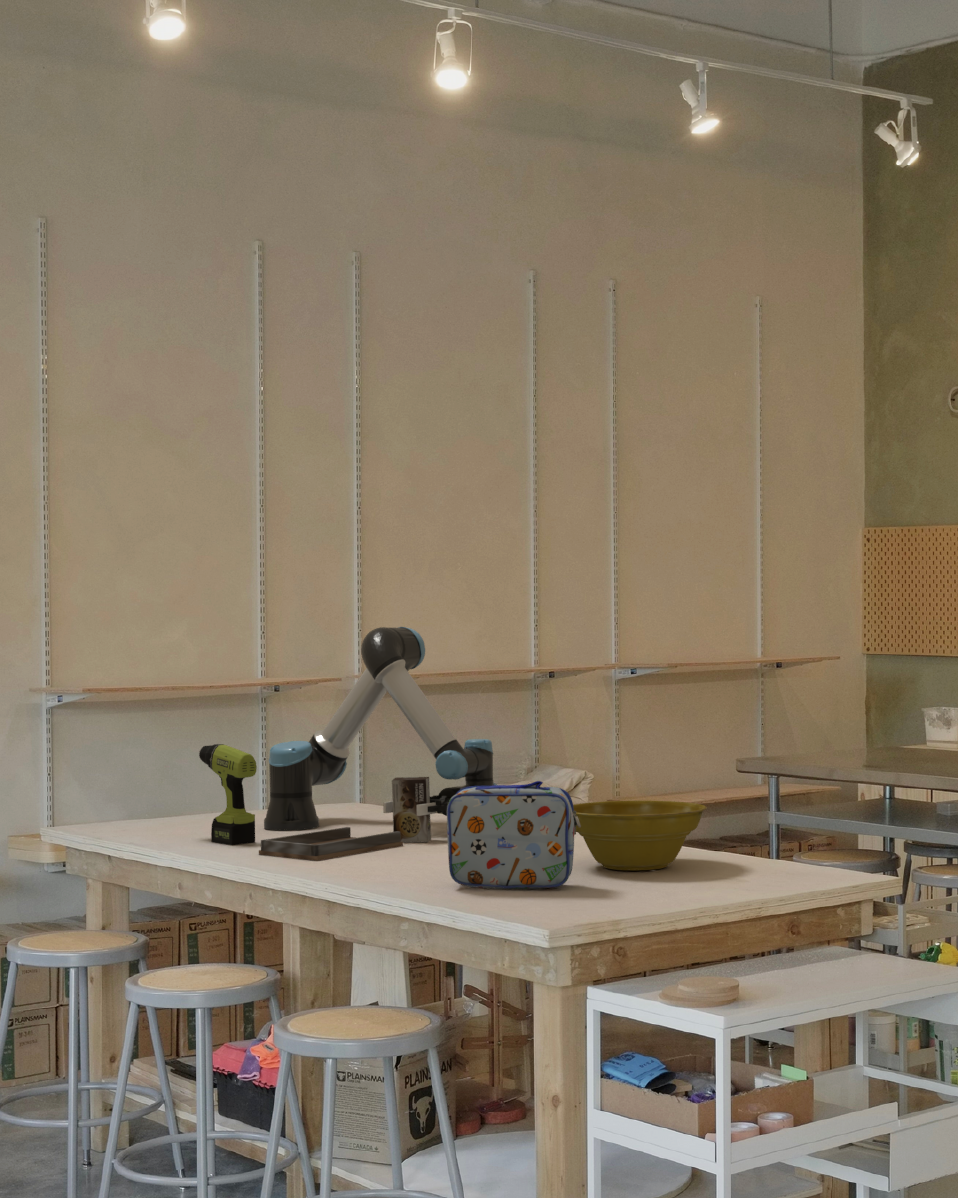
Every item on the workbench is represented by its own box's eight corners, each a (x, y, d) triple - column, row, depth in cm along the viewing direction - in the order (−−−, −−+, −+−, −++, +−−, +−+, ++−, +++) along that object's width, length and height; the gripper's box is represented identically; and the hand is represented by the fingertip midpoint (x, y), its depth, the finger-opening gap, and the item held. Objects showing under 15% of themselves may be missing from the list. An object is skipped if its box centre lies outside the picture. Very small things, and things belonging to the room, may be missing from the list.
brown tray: (258, 854, 369) (258, 840, 370) (344, 840, 393) (344, 826, 393) (317, 860, 357) (317, 845, 357) (403, 845, 380) (402, 831, 380)
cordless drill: (188, 838, 403) (187, 743, 403) (211, 835, 407) (210, 742, 408) (237, 846, 386) (236, 747, 386) (260, 843, 390) (259, 745, 391)
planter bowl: (570, 856, 357) (569, 798, 357) (709, 857, 352) (708, 798, 352) (553, 878, 325) (552, 814, 326) (706, 879, 320) (705, 815, 320)
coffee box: (431, 839, 392) (430, 776, 392) (428, 842, 385) (427, 778, 386) (396, 839, 393) (395, 776, 393) (392, 843, 386) (391, 779, 387)
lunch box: (583, 883, 317) (581, 777, 318) (578, 892, 307) (576, 782, 307) (453, 882, 321) (451, 778, 322) (444, 890, 311) (442, 782, 312)
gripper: (491, 817, 396) (435, 827, 379) (423, 812, 410) (367, 821, 393) (490, 788, 396) (435, 796, 379) (423, 784, 411) (367, 792, 393)
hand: (400, 809), depth 386 cm, fingers closed on coffee box, 11 cm apart
